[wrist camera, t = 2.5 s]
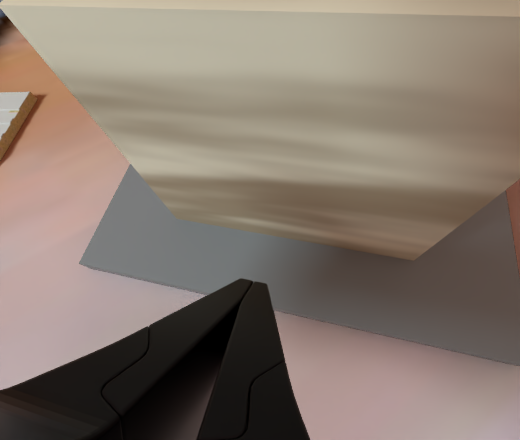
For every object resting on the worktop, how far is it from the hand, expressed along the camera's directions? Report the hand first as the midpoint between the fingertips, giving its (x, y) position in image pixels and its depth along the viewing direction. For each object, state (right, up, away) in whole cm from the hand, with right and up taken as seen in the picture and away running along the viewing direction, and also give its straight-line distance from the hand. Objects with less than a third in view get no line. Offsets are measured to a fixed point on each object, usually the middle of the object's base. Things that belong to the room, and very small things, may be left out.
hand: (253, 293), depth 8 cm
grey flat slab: (+3, +6, +11) cm, 13 cm away
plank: (+2, +2, +8) cm, 9 cm away
